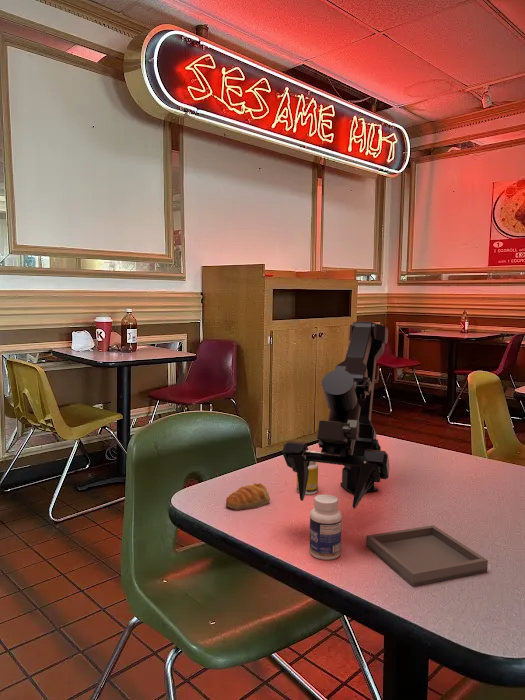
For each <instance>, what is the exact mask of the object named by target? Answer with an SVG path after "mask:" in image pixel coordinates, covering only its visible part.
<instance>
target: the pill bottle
mask: <svg viewBox="0 0 525 700" xmlns="http://www.w3.org/2000/svg"><path fill="white" fill-rule="evenodd" d="M313 505H314V507H313V508H312V509H311V510H310V513H309V554H310V555H312V556H313V557H314V558H316V559H317V560H325V561H326V560H327V561H328V560H329V561H331V560H335V559H337V558H338V557H339V556H340V555H341V551H342V528H343V527H342V523H343V522H342V521H343V519H342V517H343V516H342V512H341V511H340V510H339V509H338V508H339V498H338V497H337V496H335V495H331V494H318V495H315V497H314V500H313Z"/></svg>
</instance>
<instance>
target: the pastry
mask: <svg viewBox="0 0 525 700" xmlns="http://www.w3.org/2000/svg"><path fill="white" fill-rule="evenodd" d="M270 502H271V496H270V494H269V491H268V490H267V487H266V486H265V485H264V484H262V483H253V484H251V485H250V484H249V485H248V484H247V485H245V486H241V487H239V488H238V489H237V490H236V491H233V492H232V493H231V494H229V495H228V496H227V497H226V499H225V507H228V508H230V509H233V510H237V511H241V510H247V509H248V510H250V509H252V510H253V509H255V508H258V507H263V506H265V505H268V504H269V503H270Z"/></svg>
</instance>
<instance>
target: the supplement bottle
mask: <svg viewBox="0 0 525 700" xmlns="http://www.w3.org/2000/svg"><path fill="white" fill-rule="evenodd" d="M318 464H319V463H318V462H311V461H310V463H309V467H308V470H309V475H308V481H307V487H306V493H305V496H306V495H314V494H316V493H318V491H319V465H318ZM296 492H297V493H299V485H298V476H297V475H296Z"/></svg>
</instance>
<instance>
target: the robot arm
mask: <svg viewBox="0 0 525 700" xmlns="http://www.w3.org/2000/svg"><path fill="white" fill-rule="evenodd" d="M348 336H349V337H348V341H349V344H348V348H347V350H346V354H345V358H344V360H343V361H341V362H339V363H338V364H337V365H336V366H335V369H334V370H332V371H329V372H328V373H326V374H324V377H323V378H322V379H321V388H322V391H323V395H324V399H325V402H326V403H325V404H326V407H327V409H329V412H328V417H327V420H319V421H318V428H317V436H316V439H317V440H318V447H319V448H321V450H319V451H318V450H309V447H308V445H307V444H308V443H307V442H304V441H303V442H301V441H292V440H287V442H286V443H284V444H283V448H282V450H281V453H282V456H283V458H284V461H285V463H286V466H287V467H289V469H292V471H293V472H294V473H296V477H297V476H298V485H299V492H298V494H299V500H300V501H301V502H303V501H304V499H305V497H306V494H305V493H306V487H307V481H308V475H309V470H308V467H309V463H310V461H311V462H316V463H321V464H329V465H330V464H331V465H338V466H343V467H342V471H341V482H340V484H339V485H340V486H341V487H342V488H344V489H345V490H347V491H348V492H350V494H353V500H352V508H353V509H357V507H358V505H359V503H361V500H362V499H363V497H364V496H365V494H367V493H373V492H378V491H379V488H378V487H376V486H375V484H376V483H380V482H381V480H387V479H389V477H390V476H389V475H390V460H389V459H390V458H389V454H388V453H387V451H386V450H382V448H381V445H380V443H379V439H377V432H376V431H375V428H374V426H373V424H372V410H373V400H374V399H373V398H374V392H375V391H374V389H375V378H376V369H377V362H378V360H379V359H380V358H381V357H382V356H383V354H384V353H385V346H386V344H388V342H389V341H388V340H389V329H388V327H387V326H386V325H384V324H383V323H377V322H374V321H368V320H367V321H365V320H356V321H353V322H352V324H350V325H349V335H348Z"/></svg>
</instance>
